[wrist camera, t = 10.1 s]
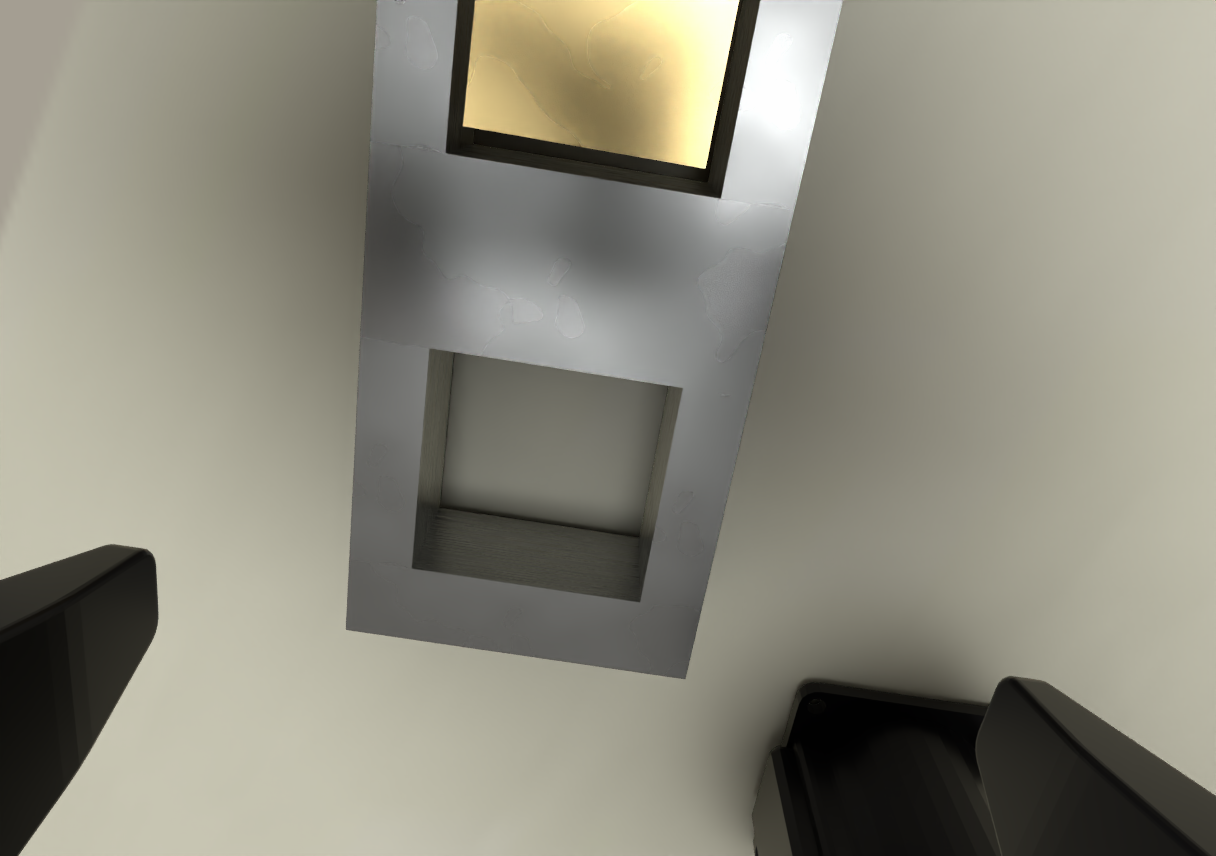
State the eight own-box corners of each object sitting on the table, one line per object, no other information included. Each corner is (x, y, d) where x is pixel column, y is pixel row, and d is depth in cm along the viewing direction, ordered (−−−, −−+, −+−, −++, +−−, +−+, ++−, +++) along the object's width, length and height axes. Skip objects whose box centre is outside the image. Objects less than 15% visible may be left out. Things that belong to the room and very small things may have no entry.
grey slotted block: (853, -188, 16) (900, -246, 13) (678, 607, 23) (685, 679, 20) (435, -264, 16) (394, -338, 13) (381, 562, 23) (346, 629, 20)
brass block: (726, -58, 17) (761, -112, 12) (687, 148, 19) (705, 169, 14) (529, -94, 17) (490, -164, 12) (505, 116, 18) (462, 126, 14)
